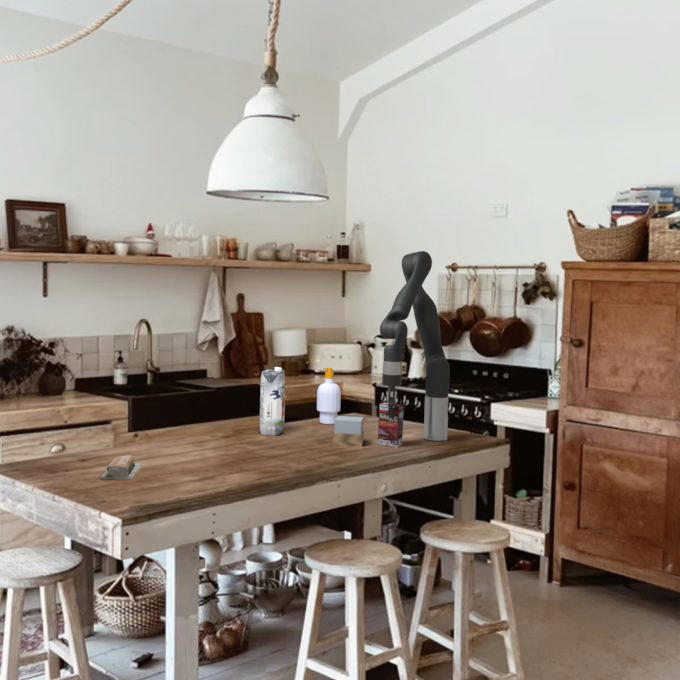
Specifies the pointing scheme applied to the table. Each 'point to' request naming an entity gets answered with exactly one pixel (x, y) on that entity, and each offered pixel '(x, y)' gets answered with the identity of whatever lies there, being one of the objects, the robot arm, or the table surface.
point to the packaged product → (121, 469)
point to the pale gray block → (349, 425)
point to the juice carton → (272, 401)
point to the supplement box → (390, 425)
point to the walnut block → (348, 439)
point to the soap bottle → (328, 399)
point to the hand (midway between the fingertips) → (390, 416)
